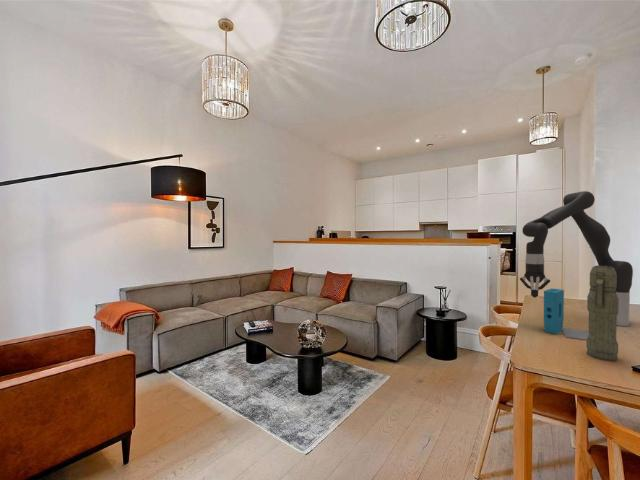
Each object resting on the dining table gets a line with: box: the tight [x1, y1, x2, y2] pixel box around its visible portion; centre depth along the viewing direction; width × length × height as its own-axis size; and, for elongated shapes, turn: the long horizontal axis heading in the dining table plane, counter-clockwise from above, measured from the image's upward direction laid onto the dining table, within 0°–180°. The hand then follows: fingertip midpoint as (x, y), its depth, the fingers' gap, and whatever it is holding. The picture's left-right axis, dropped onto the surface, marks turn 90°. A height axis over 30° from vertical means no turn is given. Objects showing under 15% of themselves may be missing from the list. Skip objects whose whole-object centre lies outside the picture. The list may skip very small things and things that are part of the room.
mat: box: [562, 327, 589, 342], centre depth 138 cm, size 16×16×1 cm
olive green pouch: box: [586, 265, 619, 362], centre depth 114 cm, size 9×12×35 cm
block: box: [543, 288, 565, 335], centre depth 144 cm, size 12×5×20 cm, turn 126°
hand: (534, 297), depth 148 cm, fingers closed
